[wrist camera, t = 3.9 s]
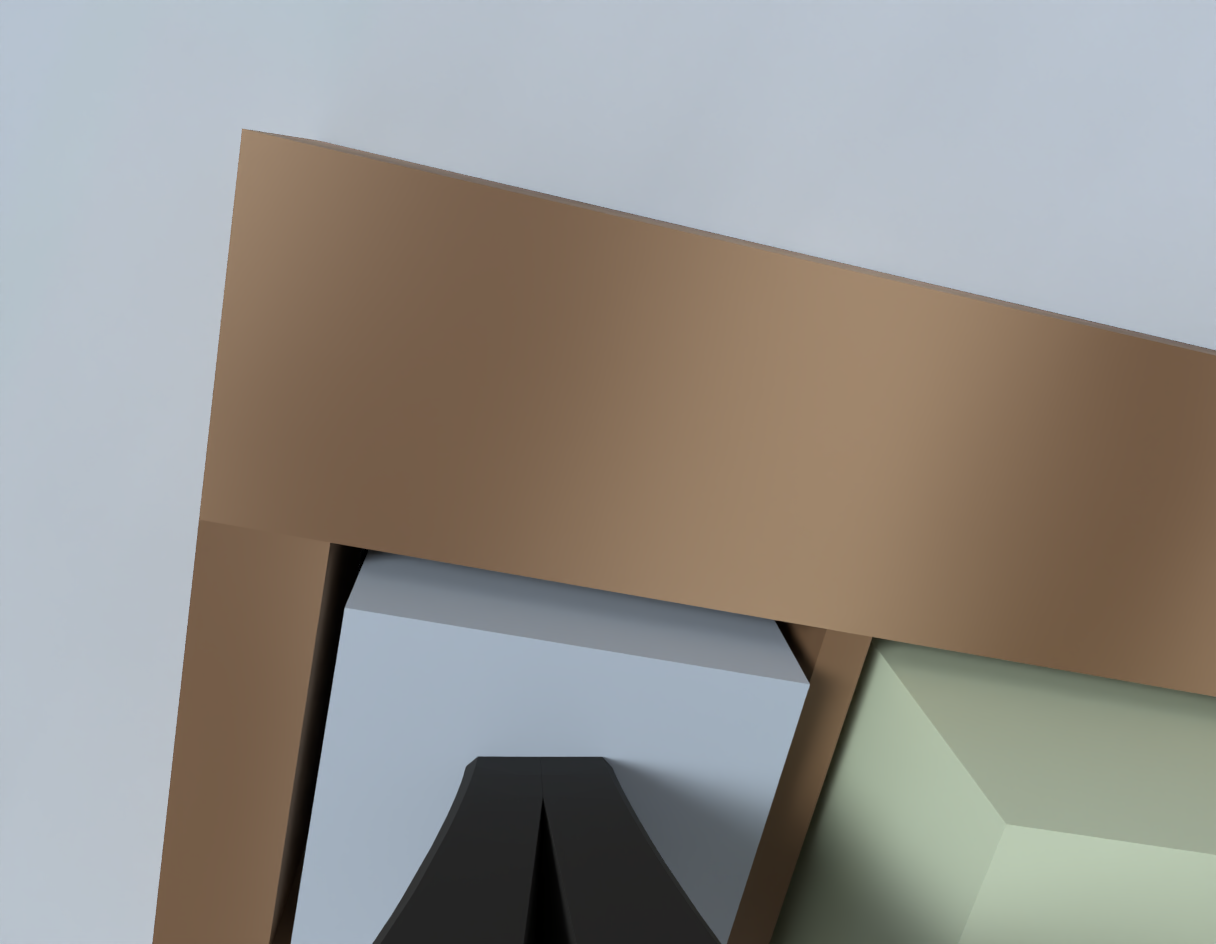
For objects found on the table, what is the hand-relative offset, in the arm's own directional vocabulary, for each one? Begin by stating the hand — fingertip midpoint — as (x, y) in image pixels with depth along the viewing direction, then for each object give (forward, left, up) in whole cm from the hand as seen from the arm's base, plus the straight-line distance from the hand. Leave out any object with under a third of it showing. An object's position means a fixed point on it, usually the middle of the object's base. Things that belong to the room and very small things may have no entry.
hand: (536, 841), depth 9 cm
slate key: (0, 0, -3) cm, 3 cm away
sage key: (-6, 0, -1) cm, 6 cm away
